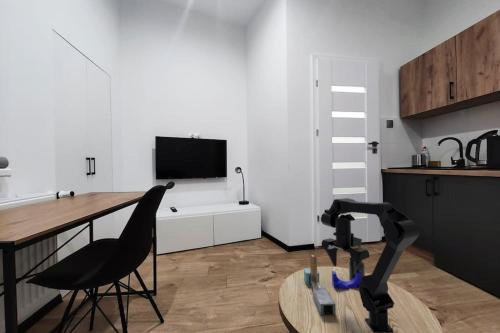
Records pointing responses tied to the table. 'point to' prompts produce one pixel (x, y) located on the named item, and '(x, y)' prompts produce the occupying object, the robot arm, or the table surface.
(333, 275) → the cable clip
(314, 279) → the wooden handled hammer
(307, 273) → the teal block with slot
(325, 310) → the gray rectangular tube
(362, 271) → the supplement bottle
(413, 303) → the table surface
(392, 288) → the table surface
